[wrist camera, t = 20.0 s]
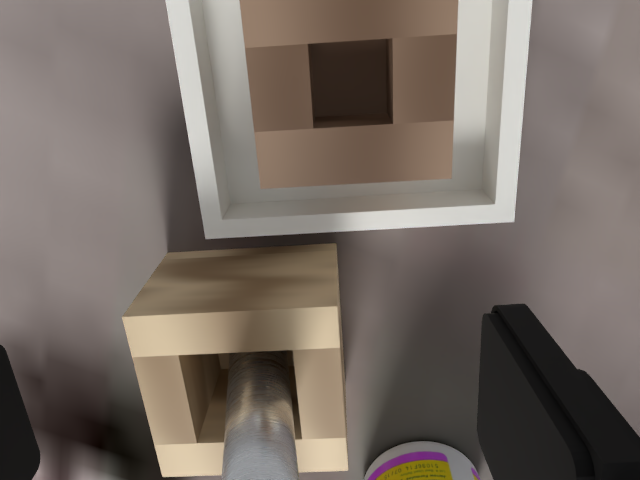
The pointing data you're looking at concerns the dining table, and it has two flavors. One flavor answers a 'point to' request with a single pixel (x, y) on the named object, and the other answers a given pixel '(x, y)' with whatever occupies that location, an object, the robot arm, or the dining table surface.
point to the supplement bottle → (422, 463)
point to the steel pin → (259, 418)
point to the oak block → (239, 349)
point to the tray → (367, 198)
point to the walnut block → (351, 89)
